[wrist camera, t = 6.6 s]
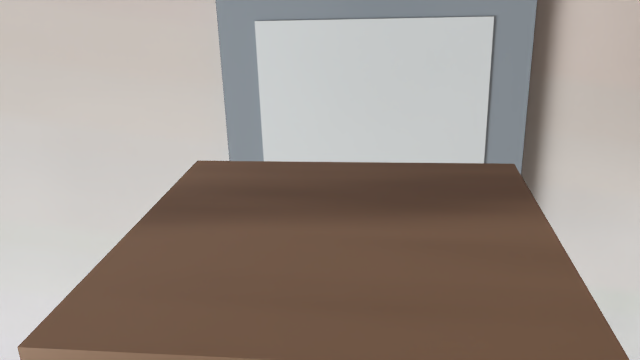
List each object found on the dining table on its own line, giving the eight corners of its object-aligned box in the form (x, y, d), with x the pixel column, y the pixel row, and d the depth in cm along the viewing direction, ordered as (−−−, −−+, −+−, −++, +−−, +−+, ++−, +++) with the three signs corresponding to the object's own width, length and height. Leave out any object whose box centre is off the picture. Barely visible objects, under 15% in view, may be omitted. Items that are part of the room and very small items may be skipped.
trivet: (219, -20, 24) (213, -19, 23) (534, -29, 22) (540, -29, 21) (242, 252, 28) (237, 262, 27) (508, 260, 26) (512, 270, 25)
